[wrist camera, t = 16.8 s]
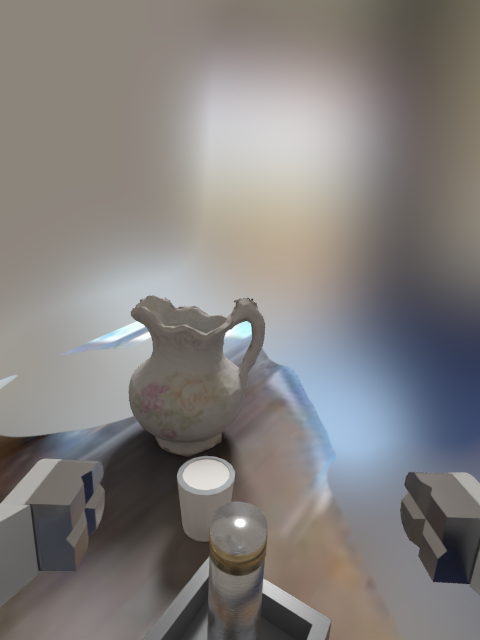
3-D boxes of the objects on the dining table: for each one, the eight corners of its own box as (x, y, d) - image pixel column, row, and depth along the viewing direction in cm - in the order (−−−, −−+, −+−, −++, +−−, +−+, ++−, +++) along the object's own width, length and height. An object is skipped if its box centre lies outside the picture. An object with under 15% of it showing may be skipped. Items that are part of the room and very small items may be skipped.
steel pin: (194, 678, 27) (197, 529, 24) (224, 629, 30) (230, 493, 27) (239, 717, 25) (249, 559, 21) (266, 660, 28) (277, 516, 25)
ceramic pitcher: (242, 410, 72) (244, 290, 68) (274, 462, 53) (279, 302, 49) (133, 420, 67) (128, 291, 62) (127, 482, 48) (119, 304, 44)
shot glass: (190, 556, 38) (190, 502, 36) (169, 512, 44) (168, 464, 42) (243, 531, 41) (246, 481, 40) (217, 494, 47) (218, 449, 45)
